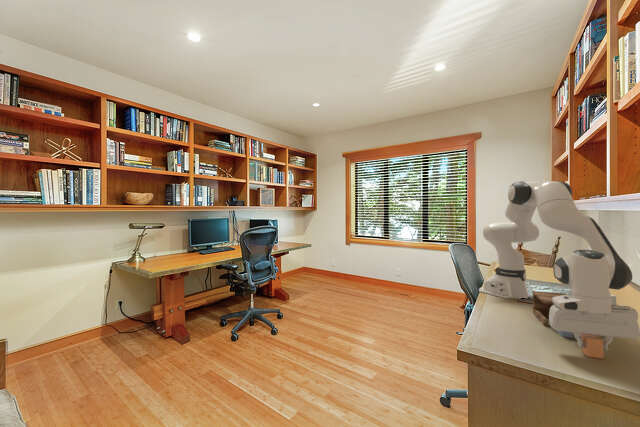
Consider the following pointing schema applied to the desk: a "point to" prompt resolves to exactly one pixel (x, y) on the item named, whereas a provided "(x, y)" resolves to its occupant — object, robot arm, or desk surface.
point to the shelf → (543, 304)
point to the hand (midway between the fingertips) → (592, 347)
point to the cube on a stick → (588, 344)
